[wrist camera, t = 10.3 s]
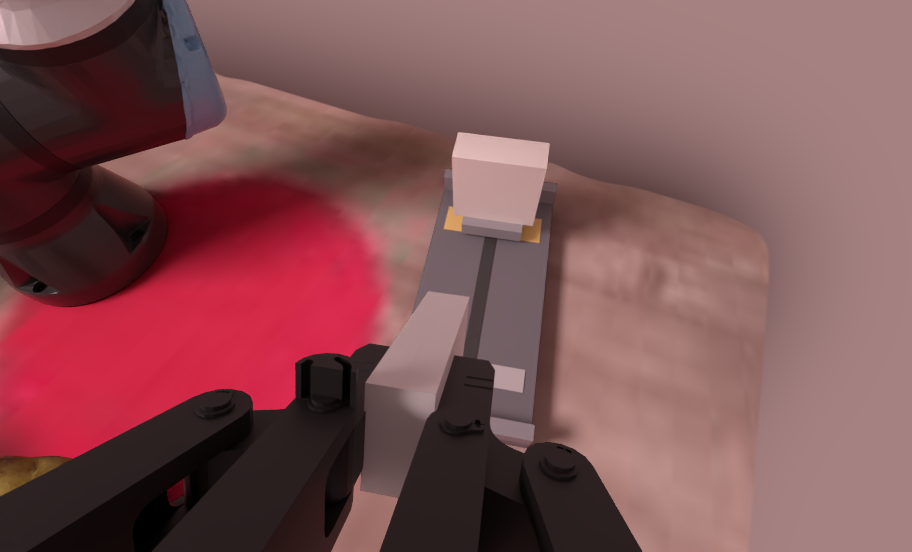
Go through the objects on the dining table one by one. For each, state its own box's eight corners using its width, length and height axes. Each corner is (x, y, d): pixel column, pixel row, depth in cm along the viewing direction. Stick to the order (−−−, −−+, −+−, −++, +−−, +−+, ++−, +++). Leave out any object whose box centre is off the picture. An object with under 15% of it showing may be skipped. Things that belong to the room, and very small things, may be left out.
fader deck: (526, 448, 35) (533, 441, 32) (388, 421, 37) (381, 411, 33) (550, 207, 48) (557, 183, 44) (447, 193, 49) (445, 168, 46)
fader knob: (529, 242, 43) (545, 178, 34) (452, 231, 43) (449, 165, 35) (534, 204, 45) (550, 135, 37) (460, 194, 46) (460, 124, 37)
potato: (115, 621, 30) (10, 653, 23) (-3, 530, 33) (-127, 535, 26) (196, 502, 34) (126, 500, 27) (83, 430, 37) (-6, 411, 30)
